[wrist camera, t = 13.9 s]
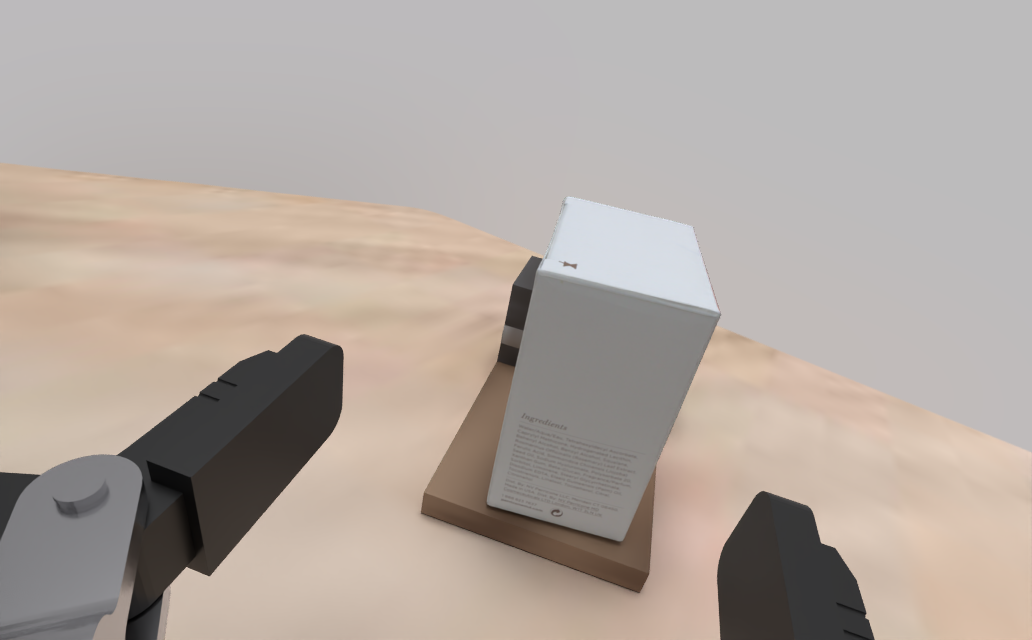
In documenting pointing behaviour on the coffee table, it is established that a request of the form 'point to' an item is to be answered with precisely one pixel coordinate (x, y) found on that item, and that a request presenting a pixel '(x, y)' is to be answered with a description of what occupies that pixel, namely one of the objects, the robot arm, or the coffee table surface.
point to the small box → (602, 367)
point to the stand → (470, 467)
